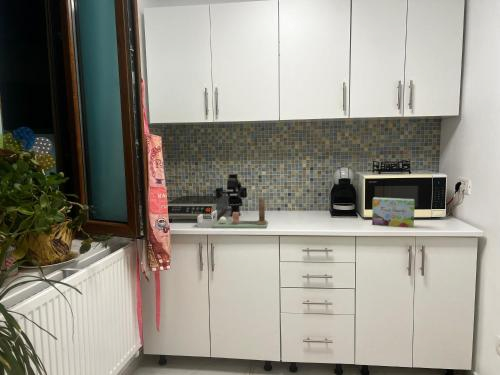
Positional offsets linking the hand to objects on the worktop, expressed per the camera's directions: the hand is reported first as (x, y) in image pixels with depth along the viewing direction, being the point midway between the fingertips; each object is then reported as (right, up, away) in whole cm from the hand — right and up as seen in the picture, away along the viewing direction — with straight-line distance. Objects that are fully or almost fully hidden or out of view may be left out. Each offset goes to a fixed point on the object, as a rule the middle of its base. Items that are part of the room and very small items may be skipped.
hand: (229, 195), depth 211 cm
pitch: (+2, -17, -3) cm, 18 cm away
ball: (-4, -14, -3) cm, 15 cm away
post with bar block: (+12, -16, -4) cm, 20 cm away
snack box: (+90, -17, -11) cm, 93 cm away
